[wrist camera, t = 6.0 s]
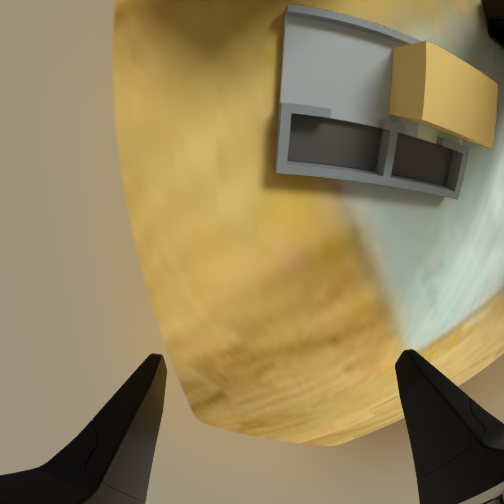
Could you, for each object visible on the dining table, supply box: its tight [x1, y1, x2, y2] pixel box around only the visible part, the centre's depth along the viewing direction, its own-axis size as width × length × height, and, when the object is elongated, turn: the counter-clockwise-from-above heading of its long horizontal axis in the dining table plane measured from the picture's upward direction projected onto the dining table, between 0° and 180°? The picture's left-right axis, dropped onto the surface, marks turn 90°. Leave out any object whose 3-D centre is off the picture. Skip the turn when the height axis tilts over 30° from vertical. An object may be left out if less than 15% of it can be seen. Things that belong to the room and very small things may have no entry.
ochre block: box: [389, 41, 498, 149], centre depth 12 cm, size 7×5×4 cm
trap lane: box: [274, 4, 469, 200], centre depth 14 cm, size 15×11×1 cm
